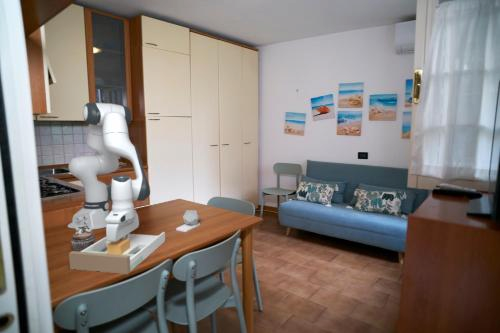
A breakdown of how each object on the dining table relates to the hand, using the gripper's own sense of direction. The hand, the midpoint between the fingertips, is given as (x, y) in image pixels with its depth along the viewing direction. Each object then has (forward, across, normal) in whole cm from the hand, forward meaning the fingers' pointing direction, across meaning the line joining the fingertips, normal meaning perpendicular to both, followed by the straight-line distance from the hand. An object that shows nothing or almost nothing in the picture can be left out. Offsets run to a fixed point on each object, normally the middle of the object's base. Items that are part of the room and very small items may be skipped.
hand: (124, 244), depth 138 cm
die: (+4, -42, +16) cm, 45 cm away
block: (+1, +5, 0) cm, 5 cm away
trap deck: (+4, +1, 0) cm, 4 cm away
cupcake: (+4, -1, -20) cm, 21 cm away
